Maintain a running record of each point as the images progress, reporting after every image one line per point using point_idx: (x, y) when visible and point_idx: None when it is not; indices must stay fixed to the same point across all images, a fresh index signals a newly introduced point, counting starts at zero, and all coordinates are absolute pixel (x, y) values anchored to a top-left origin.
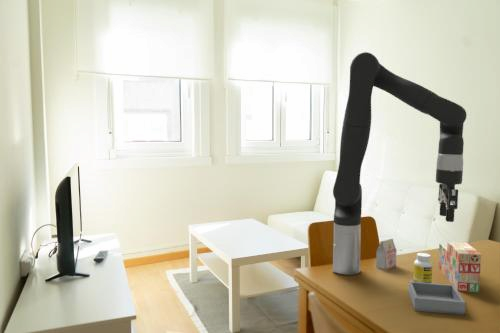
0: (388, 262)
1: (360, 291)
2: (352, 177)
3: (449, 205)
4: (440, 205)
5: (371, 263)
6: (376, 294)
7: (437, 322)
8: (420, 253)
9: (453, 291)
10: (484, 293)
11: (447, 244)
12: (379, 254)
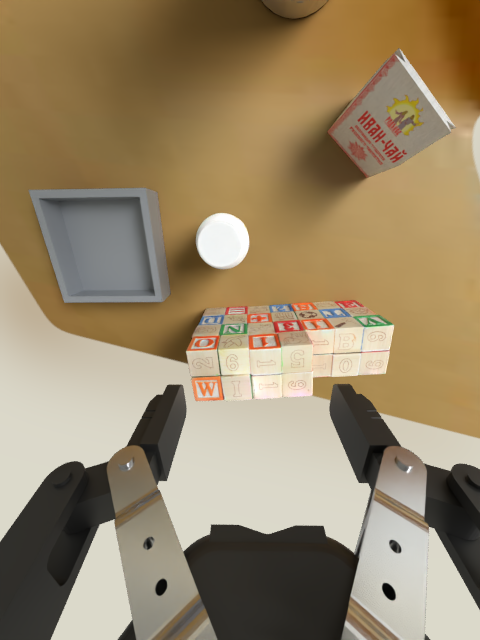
0: (348, 139)
1: (108, 25)
2: None
3: (35, 498)
4: (366, 439)
5: None
6: (107, 89)
7: (19, 236)
8: (230, 235)
9: (139, 294)
10: None
11: (309, 340)
12: (367, 83)
